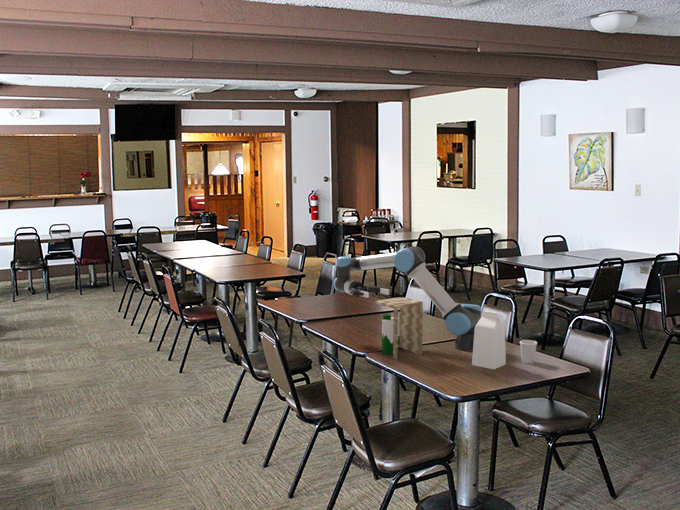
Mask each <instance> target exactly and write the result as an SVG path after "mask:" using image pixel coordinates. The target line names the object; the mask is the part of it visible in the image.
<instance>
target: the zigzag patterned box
mask: <svg viewBox="0 0 680 510" xmlns="http://www.w3.org/2000/svg"><path fill="white" fill-rule="evenodd" d="M374 303H375V305H379V306H382V307H385V308H386V307H387V308H390V309H393V317H394V319H393V355H392V359H394V360H397V359H398V353H397V349H398V318H399V321H400V345H399V349H400V348H401V349H404V350H406V351H408V352H412V353H415V354H419V355H422V354H423V325H424V324H423V320H424V319H423V316H424V315H423V313H424V312H423V311H424V308H423V307H424V306H423V305H424V302H423V301H422V300H417V299H412V298H409V297H403V296H400V297H392V298H386V299H385V298H384V299H378V300H375V301H374Z"/></svg>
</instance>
